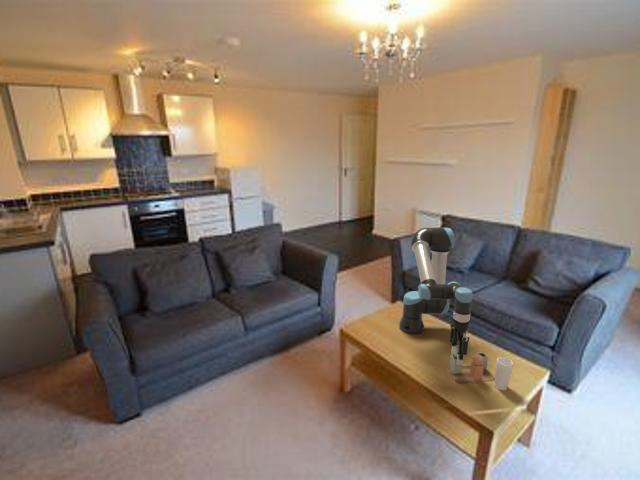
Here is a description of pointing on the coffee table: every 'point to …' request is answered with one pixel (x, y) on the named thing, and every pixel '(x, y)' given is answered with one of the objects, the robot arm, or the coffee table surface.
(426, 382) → the coffee table surface
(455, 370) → the sage tube
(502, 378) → the drinking glass
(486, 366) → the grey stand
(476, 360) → the terracotta ball
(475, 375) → the terracotta tube
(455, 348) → the sage ball
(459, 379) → the board
